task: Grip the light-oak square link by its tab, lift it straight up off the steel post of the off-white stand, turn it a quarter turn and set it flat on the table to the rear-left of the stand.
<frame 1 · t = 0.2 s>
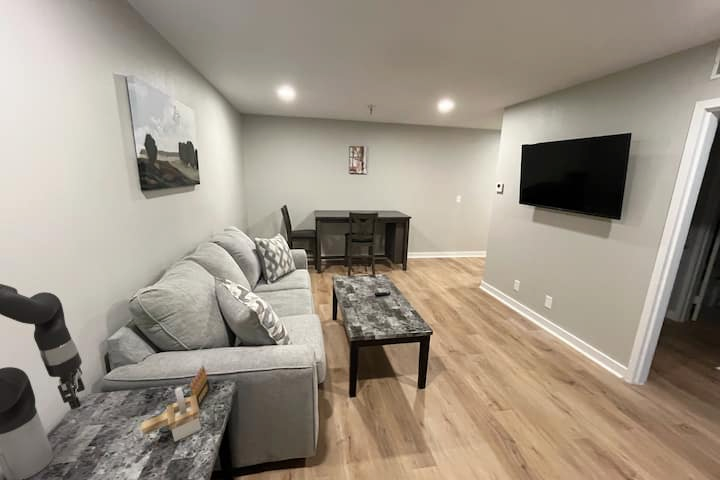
hand: (78, 398, 96), 17 cm above the table, tool pointing down, fingers open, 8 cm apart
ammunition clip: (202, 399, 117), on the table
oak link: (183, 414, 103), point 5 cm above the table, touching ring stand
ring stand: (186, 427, 105), on the table
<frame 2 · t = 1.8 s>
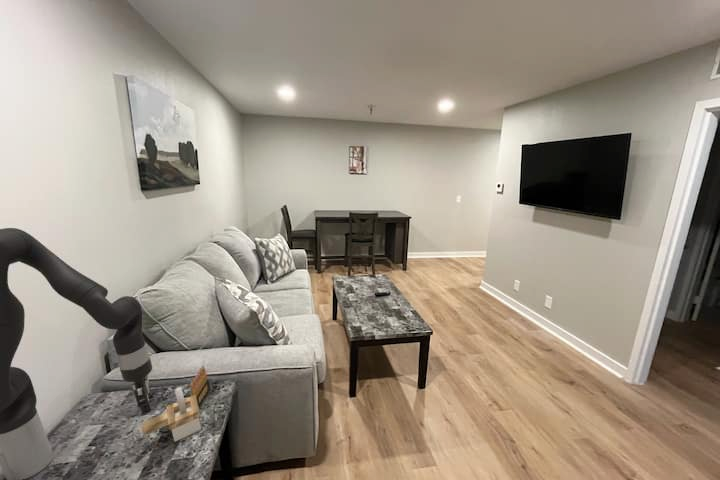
hand: (146, 403, 96), 15 cm above the table, tool pointing down, fingers open, 8 cm apart
nothing on the table moved.
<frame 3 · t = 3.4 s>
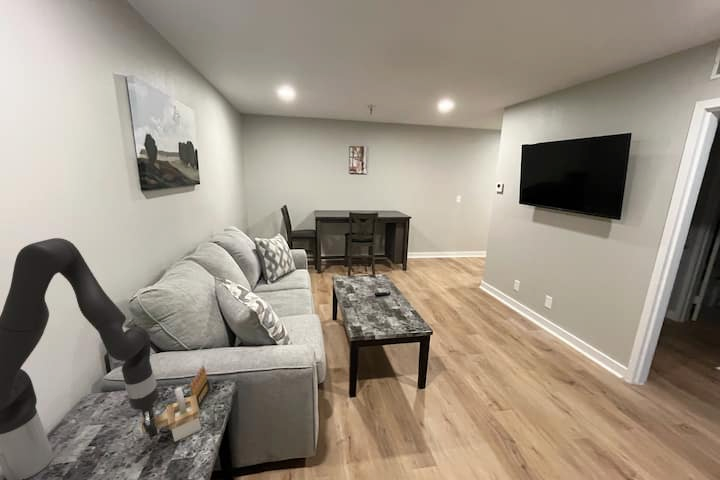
hand: (153, 432, 99), 4 cm above the table, tool pointing down, fingers closed on oak link, 3 cm apart
oak link: (183, 414, 103), point 6 cm above the table, touching gripper, ring stand
everything else where it was.
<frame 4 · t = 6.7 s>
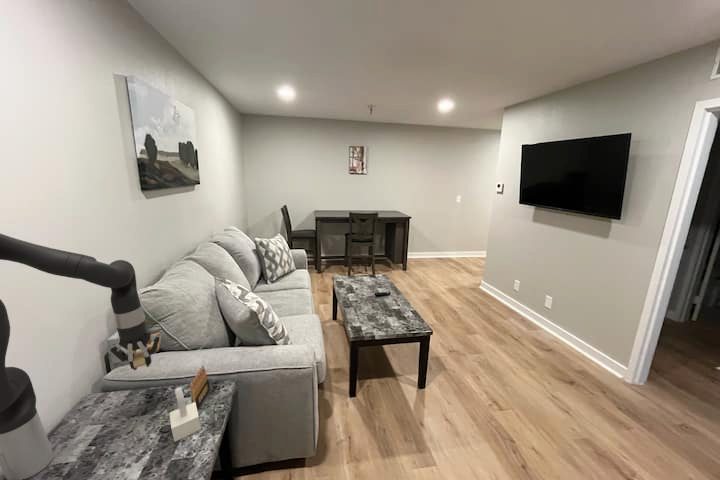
hand: (142, 366, 101), 23 cm above the table, tool pointing down, fingers closed on oak link, 3 cm apart
oak link: (145, 347, 109), point 25 cm above the table, touching gripper
everything else where it was.
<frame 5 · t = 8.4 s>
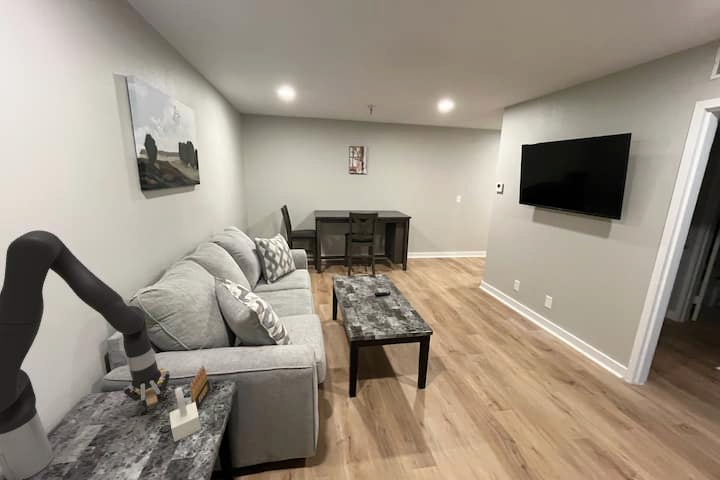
hand: (153, 403, 107), 7 cm above the table, tool pointing down, fingers closed on oak link, 3 cm apart
oak link: (151, 384, 114), point 8 cm above the table, touching gripper
everything else where it was.
when the fingers open (1 cm above the table, at t = 9.9 s): oak link drops 2 cm, on the table.
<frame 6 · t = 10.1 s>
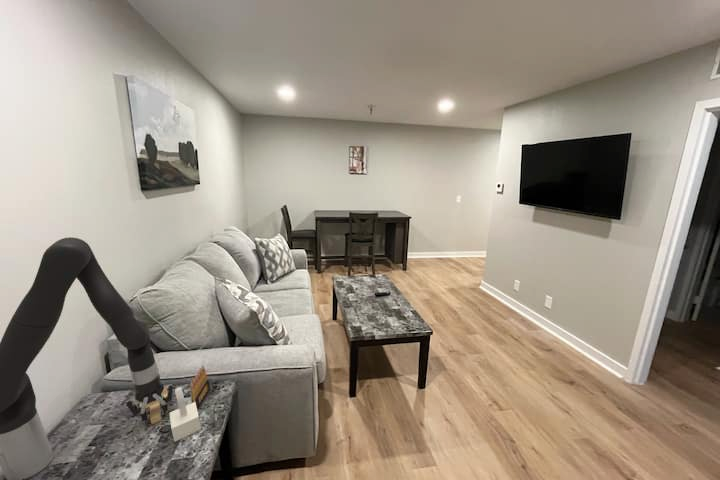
hand: (155, 415, 108), 1 cm above the table, tool pointing down, fingers open, 5 cm apart
oak link: (155, 402, 116), on the table
everything else where it was.
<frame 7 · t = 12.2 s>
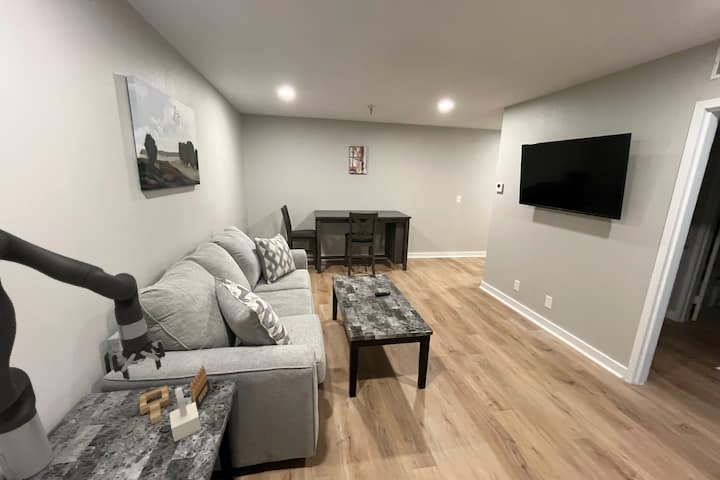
hand: (143, 373, 104), 19 cm above the table, tool pointing down, fingers open, 8 cm apart
nothing on the table moved.
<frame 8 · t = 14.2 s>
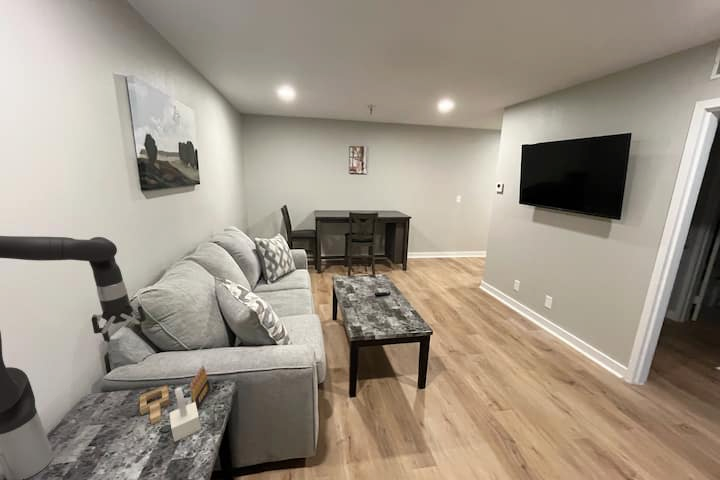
hand: (124, 336, 106), 30 cm above the table, tool pointing down, fingers open, 8 cm apart
nothing on the table moved.
at the end: oak link touching table; oak link inside the target area (0.1 cm from its centre), on the table; oak link tilted 0° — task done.
